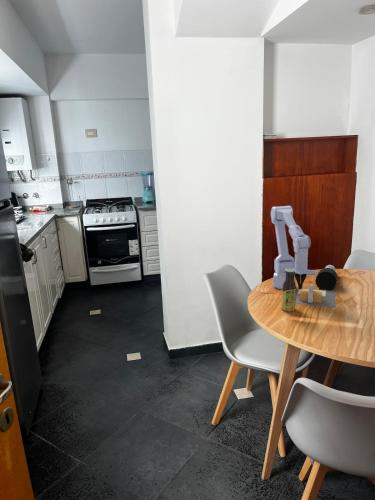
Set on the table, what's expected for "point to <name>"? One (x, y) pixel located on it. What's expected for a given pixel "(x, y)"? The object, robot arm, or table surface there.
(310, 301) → the clasp
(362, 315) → the table surface
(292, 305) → the sauce bottle
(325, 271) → the black and grey cylinder
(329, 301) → the board
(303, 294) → the block
